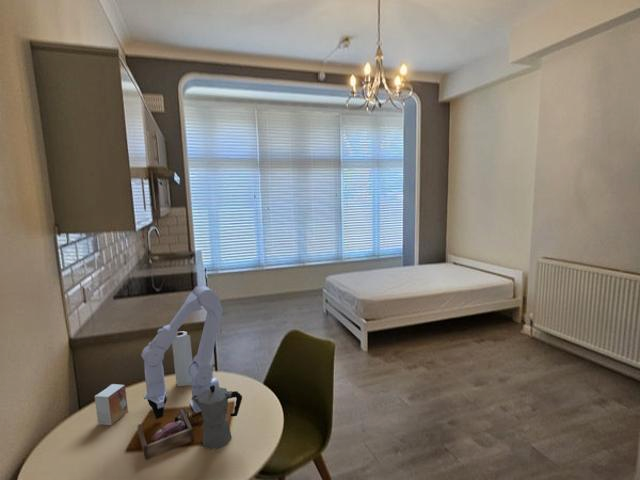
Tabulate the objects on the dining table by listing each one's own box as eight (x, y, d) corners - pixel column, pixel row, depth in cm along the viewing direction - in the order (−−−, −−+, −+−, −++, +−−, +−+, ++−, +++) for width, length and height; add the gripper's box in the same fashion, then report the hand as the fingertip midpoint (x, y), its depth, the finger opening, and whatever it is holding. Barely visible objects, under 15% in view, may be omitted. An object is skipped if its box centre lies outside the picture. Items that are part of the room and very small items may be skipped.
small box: (111, 426, 119) (107, 397, 118) (97, 424, 120) (93, 396, 119) (128, 411, 127) (125, 384, 125) (115, 410, 128) (112, 383, 127)
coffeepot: (191, 452, 105) (185, 396, 103) (199, 430, 115) (194, 379, 112) (242, 447, 106) (238, 392, 104) (247, 427, 116) (243, 376, 113)
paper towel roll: (174, 382, 146) (169, 333, 143) (189, 377, 149) (184, 329, 146) (179, 389, 140) (174, 338, 137) (194, 384, 143) (189, 334, 140)
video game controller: (154, 453, 108) (156, 439, 105) (149, 440, 110) (150, 427, 107) (186, 436, 114) (188, 423, 111) (180, 425, 117) (182, 412, 114)
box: (183, 419, 121) (182, 408, 120) (193, 440, 110) (192, 428, 110) (138, 436, 113) (137, 425, 113) (145, 460, 103) (143, 448, 102)
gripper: (139, 375, 122) (143, 411, 124) (145, 394, 111) (150, 433, 112) (160, 369, 126) (164, 403, 128) (169, 386, 114) (173, 424, 116)
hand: (159, 417), depth 121 cm, fingers closed
